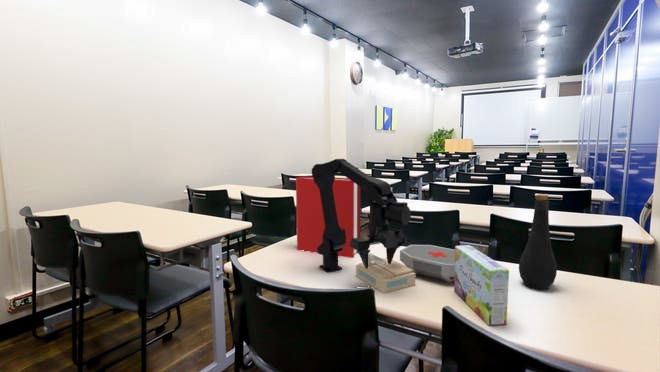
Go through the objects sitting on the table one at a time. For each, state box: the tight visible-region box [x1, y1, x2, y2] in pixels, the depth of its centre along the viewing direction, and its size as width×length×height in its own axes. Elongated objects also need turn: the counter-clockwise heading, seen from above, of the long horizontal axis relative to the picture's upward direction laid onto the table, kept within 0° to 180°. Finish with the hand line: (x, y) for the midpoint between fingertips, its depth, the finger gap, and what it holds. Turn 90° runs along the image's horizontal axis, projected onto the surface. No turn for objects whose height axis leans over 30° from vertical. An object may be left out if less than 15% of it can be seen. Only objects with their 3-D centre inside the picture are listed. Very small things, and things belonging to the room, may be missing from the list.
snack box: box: [453, 244, 510, 327], centre depth 98 cm, size 21×6×15 cm, turn 4°
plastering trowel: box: [368, 252, 414, 276], centre depth 118 cm, size 14×11×5 cm
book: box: [295, 175, 361, 259], centre depth 149 cm, size 27×8×32 cm, turn 66°
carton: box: [355, 262, 416, 294], centre depth 118 cm, size 16×13×5 cm
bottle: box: [518, 193, 558, 291], centre depth 111 cm, size 11×11×30 cm
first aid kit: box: [399, 244, 455, 283], centre depth 124 cm, size 18×8×25 cm
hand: (378, 266), depth 115 cm, fingers open, 9 cm apart
